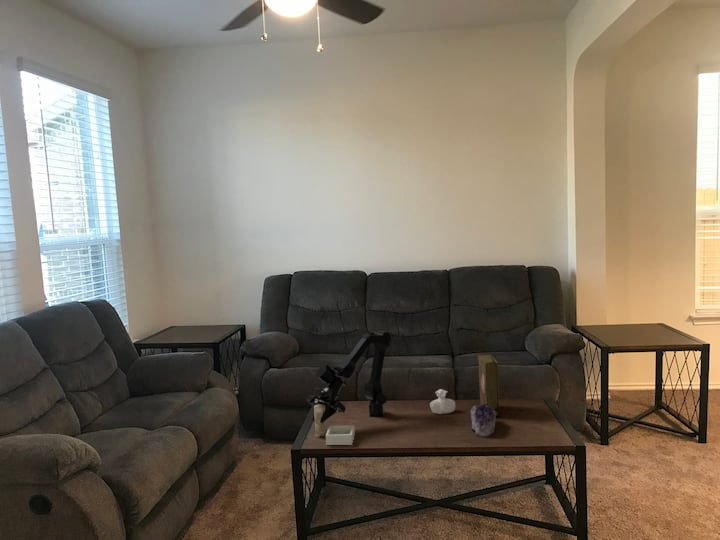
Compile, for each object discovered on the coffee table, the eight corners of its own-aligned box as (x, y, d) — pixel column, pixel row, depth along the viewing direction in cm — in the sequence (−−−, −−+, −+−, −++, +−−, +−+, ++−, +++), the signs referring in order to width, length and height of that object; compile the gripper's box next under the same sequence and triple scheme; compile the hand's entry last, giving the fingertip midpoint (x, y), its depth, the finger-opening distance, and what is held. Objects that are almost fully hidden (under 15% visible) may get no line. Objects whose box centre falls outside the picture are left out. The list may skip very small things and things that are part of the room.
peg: (326, 434, 231) (324, 404, 230) (322, 437, 227) (321, 407, 226) (317, 433, 232) (316, 404, 231) (314, 437, 228) (312, 407, 227)
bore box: (354, 435, 228) (354, 425, 227) (352, 445, 217) (351, 435, 217) (330, 436, 229) (329, 425, 228) (326, 446, 218) (325, 435, 218)
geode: (501, 438, 217) (497, 414, 216) (472, 441, 219) (468, 418, 218) (497, 418, 237) (494, 396, 236) (471, 421, 239) (467, 400, 238)
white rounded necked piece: (455, 415, 251) (450, 392, 258) (458, 409, 245) (453, 386, 251) (430, 417, 250) (426, 394, 257) (432, 412, 244) (428, 388, 250)
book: (479, 405, 256) (477, 354, 254) (491, 405, 256) (489, 353, 254) (487, 418, 240) (485, 363, 238) (499, 417, 239) (497, 362, 238)
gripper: (307, 377, 237) (291, 408, 229) (339, 383, 225) (323, 416, 217) (321, 389, 243) (305, 421, 236) (352, 396, 232) (337, 429, 224)
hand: (317, 421), depth 228 cm, fingers closed on peg, 4 cm apart
